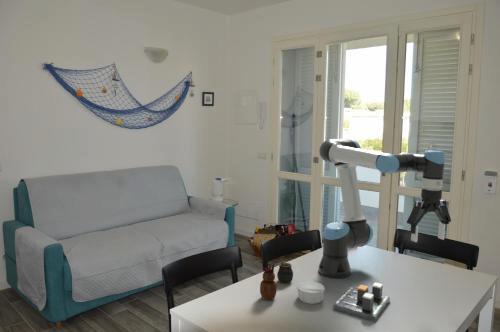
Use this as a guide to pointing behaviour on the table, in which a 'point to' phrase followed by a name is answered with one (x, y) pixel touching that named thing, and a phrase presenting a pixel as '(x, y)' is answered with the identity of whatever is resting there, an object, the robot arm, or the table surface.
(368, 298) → the breaker near
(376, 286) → the block
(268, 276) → the wooden figurine
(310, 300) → the ramekin
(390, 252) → the table surface
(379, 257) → the table surface
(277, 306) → the table surface
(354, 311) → the panel
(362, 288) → the block
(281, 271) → the mate gourd
